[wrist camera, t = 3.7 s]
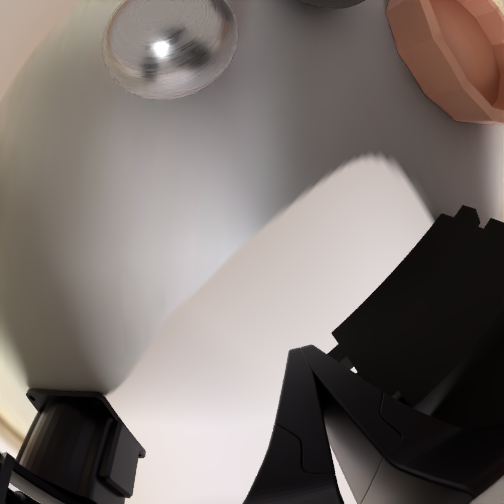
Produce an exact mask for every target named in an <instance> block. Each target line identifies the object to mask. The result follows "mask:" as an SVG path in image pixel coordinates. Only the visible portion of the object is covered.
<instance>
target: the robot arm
mask: <svg viewBox="0 0 504 504" xmlns="http://www.w3.org/2000/svg"><path fill="white" fill-rule="evenodd" d="M26 396H27V398H28V399H29V400H30V402H31V403H32V404H33V406H34V407H35V408H36V409H37V411H38V413H37V415H36V417H35V419H34V421H33V423H32V425H31V427H30V429H29V431H28V433H27V435H26V437H25V439H24V442H23V444H22V446H21V448H20V451H19V453H18V455H17V458H16V460H15V458H13V457H12V456H11V455H10V454H8V453H7V452H5V453H2V454H1V453H0V504H41V503H42V504H124V503H125V498H130V497H131V496H132V494H133V488H134V481H135V475H136V468H137V462H138V458H144V457H145V453H146V451H145V449H144V448H143V447H142V446H141V445H140V443H139V442H138V441H137V440H136V439H135V437H134V436H133V435H132V434H131V432H130V431H129V430H128V428H127V427H126V426H125V424H124V423H123V422H122V420H121V419H120V418H119V417H118V415H117V413H116V412H115V411H114V409H113V408H112V407H111V405H110V403H109V402H108V400H107V399H106V398H105V397H104V396H103V395H102V394H100V393H98V392H71V391H52V390H39V389H29V390H28V391H27V393H26ZM329 443H330V444H329ZM330 445H331V448H332V450H333V452H334V454H335V456H336V459H337V461H338V463H339V465H340V467H341V470H342V472H343V474H344V476H345V478H346V480H347V483H348V484H349V487H350V489H351V491H352V493H353V496H354V498H355V500H356V502H357V504H504V422H503V423H497V424H491V425H484V426H477V427H458V426H454V425H451V424H448V423H446V422H443V421H441V420H439V419H436V418H434V417H432V416H429V415H427V414H425V413H422V412H420V411H418V410H416V409H414V408H412V407H410V406H408V405H406V404H404V403H402V402H400V401H399V400H397V399H395V398H393V397H392V396H390V395H389V394H387V393H385V392H384V393H383V391H382V390H380V389H379V388H377V387H376V386H374V385H373V384H371V383H369V382H368V381H366V380H365V379H363V378H362V377H360V376H359V375H357V374H356V373H354V372H352V371H351V370H349V369H348V368H346V367H345V366H343V365H342V364H340V363H339V362H337V361H336V360H334V359H333V358H331V357H330V356H328V355H327V354H325V353H324V352H322V351H321V350H320V349H318V348H317V347H315V346H314V345H308V346H304V347H301V348H296V349H292V350H289V353H288V359H287V364H286V370H285V375H284V380H283V385H282V390H281V395H280V400H279V405H278V409H277V414H276V419H275V425H274V428H273V432H272V436H271V440H270V443H269V447H268V450H267V452H266V455H265V458H264V460H263V463H262V465H261V467H260V469H259V472H258V474H257V476H256V478H255V481H254V483H253V485H252V487H251V489H250V491H249V493H248V495H247V497H246V499H245V500H244V502H243V504H344V501H343V499H342V496H341V494H340V491H339V487H338V484H337V479H336V476H335V469H334V464H333V460H332V454H331V449H330ZM9 483H11V484H12V485H13V486H15V487H17V488H18V489H19V490H21V491H22V492H21V491H15V492H14V491H12V490H11V489H9V488H8V486H9ZM23 492H24V493H23ZM26 494H27V495H26ZM29 496H30V497H29ZM31 497H32V498H33V499H32V498H31ZM34 499H35V500H34ZM36 500H37V501H38V502H37V501H36ZM39 502H40V503H39Z"/></svg>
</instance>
